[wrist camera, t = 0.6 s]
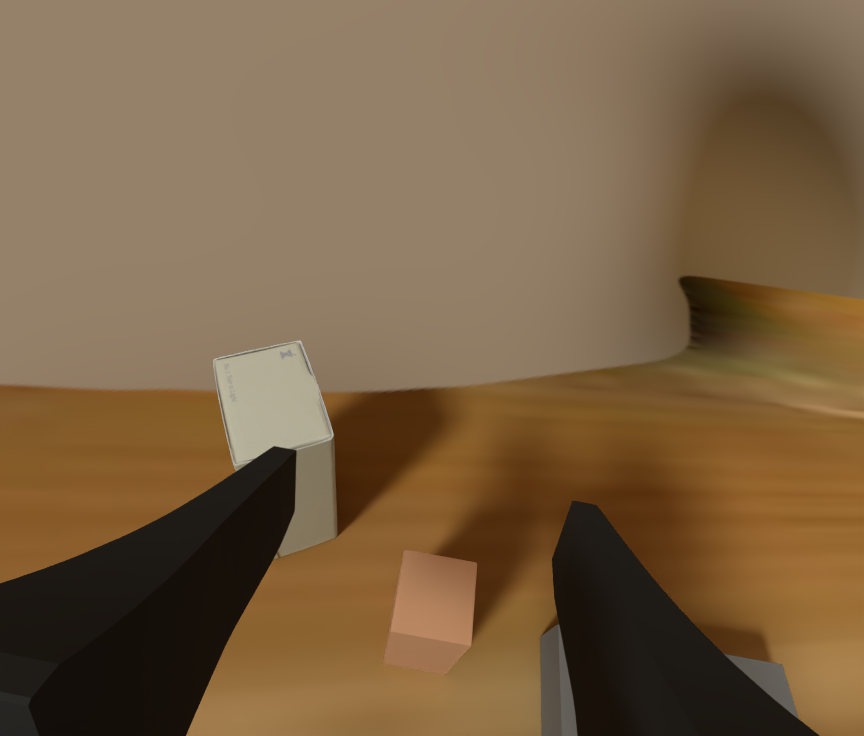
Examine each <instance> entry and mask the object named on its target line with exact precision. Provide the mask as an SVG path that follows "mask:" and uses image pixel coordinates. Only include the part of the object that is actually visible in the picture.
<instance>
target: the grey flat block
mask: <svg viewBox="0 0 864 736" xmlns="http://www.w3.org/2000/svg"><path fill="white" fill-rule="evenodd" d="M724 655H725V656H726V657H727V658H729V659H730V660H731V661H732V662H733V663H734V664H735V665H736V666H737V667H738V668H739V669H740V670H742V671H743V672H744V673H745V674H746V675H747V676H748V677H749V678H751V679H752V680H753V681H754V682H755V683H756V684H757V685H758V686H760V687H761V688H762V689H763V690H764V691H765V692H766V693H768V694H769V695H770V696H771V697H772V698H773V699H775V700H776V701H777V702H778V703H779V704H781V705H782V706H783V707H784V708H785V709H787V710H788V711H789V712H790V713H791V714H793V715H794V716H795V717H796V718H798V715H797V712H796V709H795V705H794V702H793V699H792V695H791V692H790V689H789V685H788V682H787V679H786V675H785V672H784V669H783V665H782V664H777V663H771V662H766V661H760V660H755V659H749V658H744V657H738V656H733V655H727V654H724ZM541 717H542V736H577V726H576V715H575V708H574V701H573V695H572V689H571V684H570V678H569V673H568V668H567V663H566V657H565V652H564V647H563V642H562V636H561V631H560V626H559V624H557V625H556V626H554V627H553V628H552V629H550V630H549V631H548V632H546V633H545V634H543V635H542V636H541Z"/></svg>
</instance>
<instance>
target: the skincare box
mask: <svg viewBox="0 0 864 736" xmlns="http://www.w3.org/2000/svg"><path fill="white" fill-rule="evenodd" d="M213 365H214V373H215V380H216V386H217V392H218V398H219V403H220V408H221V413H222V418H223V423H224V427H225V432H226V436H227V441H228V445H229V449H230V453H231V457H232V462H233V465H234V467H235V470H236V471H238V470H239V469H241V468H242V467H244V466H245V465H247V464H248V463H249V462H251V461H252V460H254V459H255V458H257V457H258V456H260V455H261V454H263V453H264V452H266V451H267V450H269V449H270V448H272V447H273V446H277V447H282V448H288V449H293V450H297V456H296V491H295V512H294V515H293V517H292V519H291V522H290V524H289V527H288V529H287V532H286V534H285V537H284V539H283V541H282V544H281V546H280V548H279V550H278V552H277V553H276V555H275V557H274V559H276V558H279V557H282V556H285V555H288V554H291V553H294V552H297V551H300V550H303V549H306V548H309V547H311V546H314V545H317V544H320V543H323V542H325V541H328V540H331V539H334V538H335V537H337V535H338V531H337V502H336V474H335V444H334V433H333V429H332V426H331V423H330V420H329V417H328V413H327V411H326V407H325V404H324V401H323V398H322V395H321V392H320V389H319V386H318V384H317V381H316V378H315V376H314V373H313V370H312V367H311V365H310V362H309V360H308V357H307V354H306V352H305V350H304V347H303V344H302V342H301V341H300V340H298V341H294V342H290V343H284V344H279V345H273V346H269V347H264V348H260V349H255V350H250V351H246V352H240V353H237V354H232V355H228V356H223V357H218V358H215V359H214V360H213Z"/></svg>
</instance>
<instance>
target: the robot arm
mask: <svg viewBox="0 0 864 736" xmlns="http://www.w3.org/2000/svg"><path fill="white" fill-rule="evenodd" d="M296 456H297V450H293V449H288V448H282V447H277V446H273V447H272V448H270V449H269V450H267V451H266V452H264V453H263V454H261V455H260V456H258V457H257V458H255V459H254V460H252V461H251V462H249V463H248V464H247V465H245V466H244V467H242V468H241V469H239V470H238V471H236V472H235V473H233V474H232V475H230V476H229V477H227V478H226V479H224V480H223V481H221V482H220V483H218V484H217V485H215V486H214V487H212V488H211V489H209V490H207V491H206V492H204V493H203V494H201V495H199V496H198V497H196V498H194V499H193V500H191V501H189V502H188V503H186V504H184V505H183V506H181V507H179V508H177V509H176V510H174V511H172V512H170V513H169V514H167V515H165V516H163V517H161V518H159V519H157V520H156V521H154V522H152V523H150V524H148V525H146V526H144V527H142V528H140V529H138V530H136V531H134V532H131V533H129V534H127V535H125V536H123V537H121V538H119V539H116V540H114V541H111V542H109V543H107V544H104V545H102V546H100V547H97V548H95V549H93V550H90V551H88V552H86V553H83V554H81V555H79V556H76V557H74V558H71V559H69V560H66V561H63V562H61V563H58V564H55V565H53V566H50V567H47V568H45V569H42V570H39V571H36V572H33V573H30V574H27V575H24V576H21V577H19V578H16V579H13V580H9V581H6V582H3V583H0V736H186V734H187V732H188V729H189V727H190V725H191V722H192V720H193V718H194V715H195V713H196V711H197V709H198V706H199V704H200V702H201V699H202V697H203V695H204V692H205V690H206V688H207V685H208V683H209V681H210V679H211V677H212V674H213V672H214V670H215V668H216V665H217V663H218V661H219V659H220V657H221V654H222V652H223V650H224V648H225V645H226V643H227V641H228V640H229V638H230V636H231V634H232V632H233V630H234V628H235V626H236V624H237V622H238V621H239V619H240V617H241V615H242V614H243V612H244V610H245V608H246V607H247V605H248V603H249V601H250V600H251V598H252V596H253V594H254V592H255V591H256V589H257V587H258V585H259V584H260V582H261V580H262V578H263V577H264V575H265V573H266V571H267V569H268V568H269V566H270V564H271V562H272V561H273V559H274V557H275V555H276V553H277V552H278V550H279V548H280V546H281V544H282V541H283V539H284V537H285V534H286V532H287V529H288V527H289V524H290V522H291V519H292V517H293V515H294V512H295V491H296ZM552 566H553V584H554V598H555V604H556V609H557V615H558V620H559V626H560V631H561V636H562V642H563V647H564V652H565V657H566V663H567V668H568V673H569V678H570V684H571V689H572V695H573V701H574V708H575V715H576V726H577V736H819V735H818V734H817V733H815V732H814V731H813V730H812V729H810V728H809V727H808V726H807V725H805V724H804V723H803V722H802V721H800V720H799V719H798V718H796V717H795V716H794V715H793V714H791V713H790V712H789V711H788V710H787V709H785V708H784V707H783V706H782V705H781V704H779V703H778V702H777V701H776V700H775V699H773V698H772V697H771V696H770V695H769V694H768V693H766V692H765V691H764V690H763V689H762V688H761V687H760V686H758V685H757V684H756V683H755V682H754V681H753V680H752V679H751V678H749V677H748V676H747V675H746V674H745V673H744V672H743V671H742V670H740V669H739V668H738V667H737V666H736V665H735V664H734V663H733V662H732V661H731V660H730V659H729V658H727V657H726V656H725V655H724V654H723V653H722V652H721V651H720V650H719V649H718V648H717V647H716V646H715V645H714V644H713V643H712V642H711V641H710V640H709V639H708V638H707V637H706V636H705V635H704V634H703V633H702V632H701V631H700V630H699V629H698V628H697V627H696V626H695V625H694V624H693V623H692V622H691V621H690V620H689V618H688V617H687V616H686V615H685V614H684V613H683V612H682V611H681V610H680V609H679V608H678V606H677V605H676V604H675V603H674V602H673V601H672V600H671V599H670V597H669V596H668V595H667V594H666V593H665V592H664V591H663V589H662V588H661V587H660V586H659V585H658V584H657V582H656V581H655V580H654V579H653V578H652V576H651V575H650V574H649V573H648V571H647V570H646V569H645V568H644V567H643V565H642V564H641V563H640V561H639V560H638V559H637V558H636V556H635V555H634V554H633V553H632V551H631V550H630V549H629V547H628V546H627V545H626V543H625V542H624V541H623V539H622V538H621V537H620V535H619V534H618V533H617V532H616V530H615V529H614V528H613V526H612V525H611V523H610V522H609V521H608V519H607V518H606V517H605V516H604V514H603V513H602V512H601V510H600V509H599V508H598V506H597V505H593V504H588V503H582V502H577V501H572V504H571V506H570V509H569V512H568V515H567V518H566V521H565V524H564V526H563V529H562V532H561V535H560V538H559V541H558V544H557V547H556V549H555V552H554V555H553V558H552Z"/></svg>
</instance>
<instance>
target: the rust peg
mask: <svg viewBox="0 0 864 736" xmlns="http://www.w3.org/2000/svg"><path fill="white" fill-rule="evenodd" d="M476 573H477V562H471V561H466V560H460V559H455V558H449V557H444V556H438V555H433V554H427V553H422V552H416V551H411V550H404V555H403V559H402V564H401V569H400V574H399V579H398V583H397V588H396V593H395V598H394V604H393V609H392V615H391V621H390V626H389V632H388V638H387V643H386V649H385V655H384V660H383V664H387V665H393V666H398V667H404V668H409V669H415V670H420V671H426V672H431V673H437V674H442V675H445V674H446V673H447V672H448V671H449V670H450V669H451V668H452V666H453V665H454V664H455V663H456V662H457V661H458V660H459V659H460V658H461V657H462V656H463V654H464V653H465V652H466V651H467V650H468V649H469V648H470V647H471V642H472V629H473V615H474V601H475V587H476Z"/></svg>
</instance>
